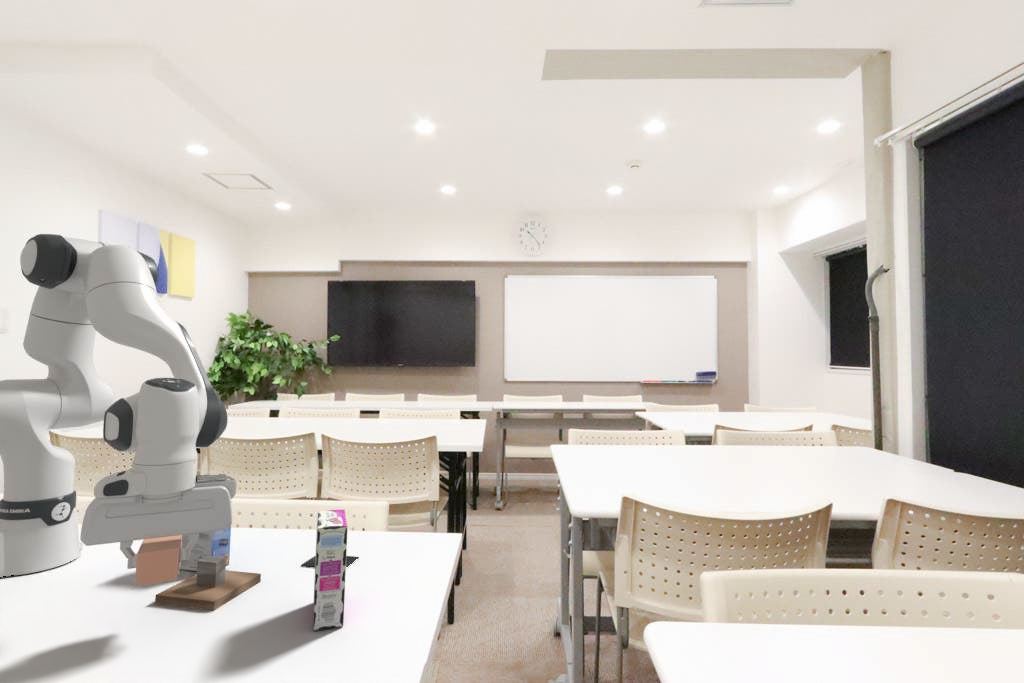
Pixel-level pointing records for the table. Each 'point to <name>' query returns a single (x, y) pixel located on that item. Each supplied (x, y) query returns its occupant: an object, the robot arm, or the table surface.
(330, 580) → the candy bar box
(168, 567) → the salmon rectangular block
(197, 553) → the ink cartridge box
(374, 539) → the table surface
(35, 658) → the table surface
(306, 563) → the solid state drive
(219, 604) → the base
